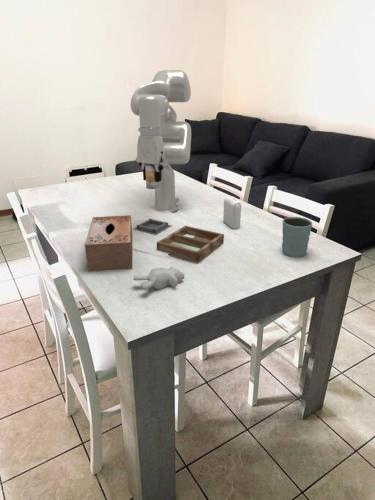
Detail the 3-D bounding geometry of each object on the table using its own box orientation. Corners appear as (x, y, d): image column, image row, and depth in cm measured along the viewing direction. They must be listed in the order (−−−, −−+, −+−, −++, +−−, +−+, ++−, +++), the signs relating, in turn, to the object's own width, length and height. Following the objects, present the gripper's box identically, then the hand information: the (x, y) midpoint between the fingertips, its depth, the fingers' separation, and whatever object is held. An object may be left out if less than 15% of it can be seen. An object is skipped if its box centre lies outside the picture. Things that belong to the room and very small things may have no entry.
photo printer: (221, 221, 162) (222, 194, 156) (230, 220, 163) (231, 193, 158) (232, 229, 153) (233, 201, 148) (241, 228, 154) (243, 200, 149)
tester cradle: (149, 222, 161) (149, 217, 160) (172, 227, 155) (172, 222, 154) (132, 231, 152) (132, 225, 150) (155, 237, 146) (155, 231, 145)
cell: (151, 185, 147) (150, 160, 143) (161, 186, 144) (160, 161, 140) (143, 188, 143) (142, 162, 139) (153, 189, 140) (152, 164, 136)
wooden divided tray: (185, 234, 149) (185, 225, 147) (223, 243, 141) (223, 234, 139) (157, 252, 134) (156, 242, 132) (198, 263, 125) (198, 253, 124)
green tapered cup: (303, 260, 127) (307, 228, 122) (275, 254, 132) (278, 223, 127) (310, 250, 135) (315, 219, 130) (284, 244, 140) (287, 214, 135)
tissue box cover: (95, 241, 144) (92, 217, 139) (132, 239, 145) (130, 215, 141) (88, 272, 120) (84, 244, 116) (132, 269, 122) (130, 242, 118)
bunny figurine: (189, 273, 111) (145, 281, 103) (188, 288, 113) (144, 297, 105) (174, 261, 118) (131, 268, 110) (172, 275, 120) (130, 283, 112)
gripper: (126, 131, 136) (129, 179, 144) (163, 134, 128) (164, 185, 135) (138, 129, 142) (141, 176, 149) (175, 132, 134) (175, 181, 141)
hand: (152, 180), depth 142 cm, fingers closed on cell, 5 cm apart
